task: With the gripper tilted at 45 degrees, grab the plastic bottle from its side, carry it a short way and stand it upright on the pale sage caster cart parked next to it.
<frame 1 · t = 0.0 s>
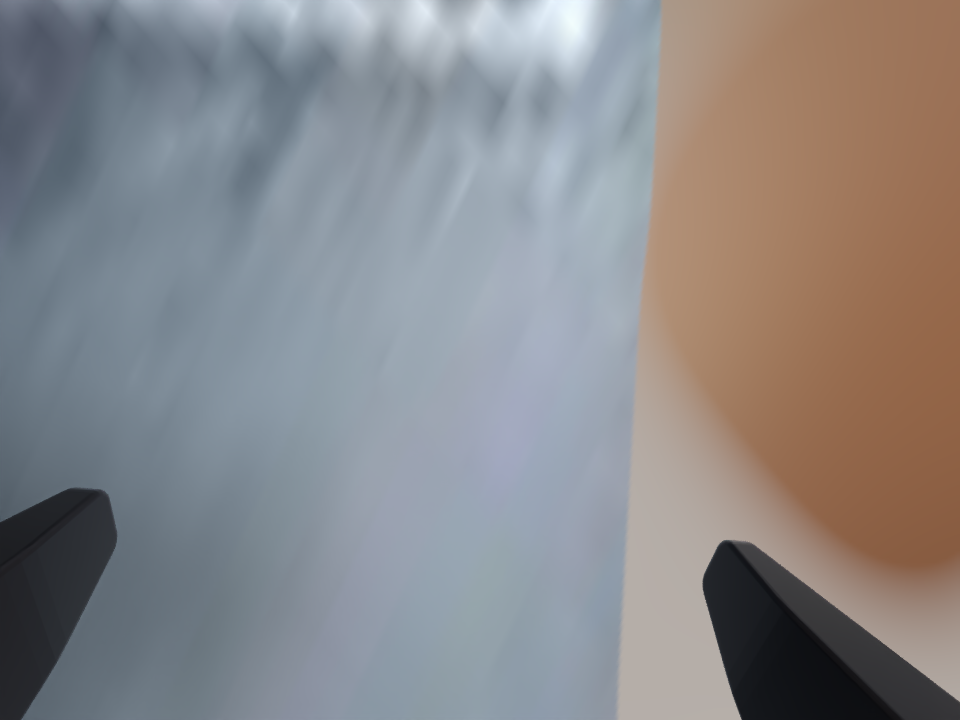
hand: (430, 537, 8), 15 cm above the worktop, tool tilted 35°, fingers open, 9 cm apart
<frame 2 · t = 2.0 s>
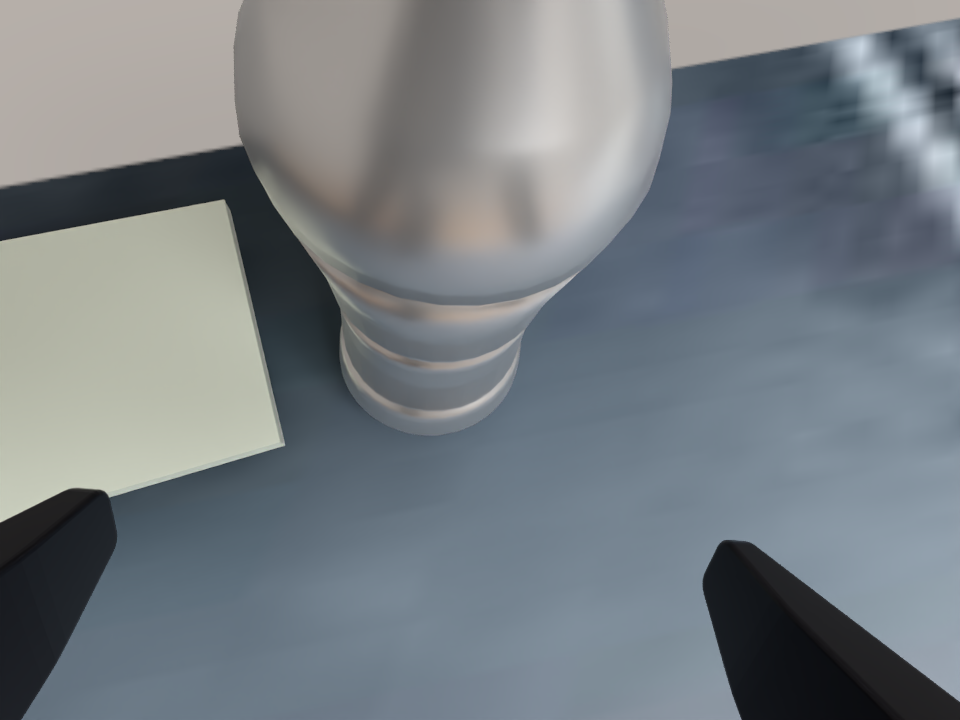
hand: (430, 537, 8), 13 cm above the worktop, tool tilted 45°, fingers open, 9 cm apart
plastic bottle: (427, 371, 22), on the worktop
caster cart: (136, 368, 20), on the worktop
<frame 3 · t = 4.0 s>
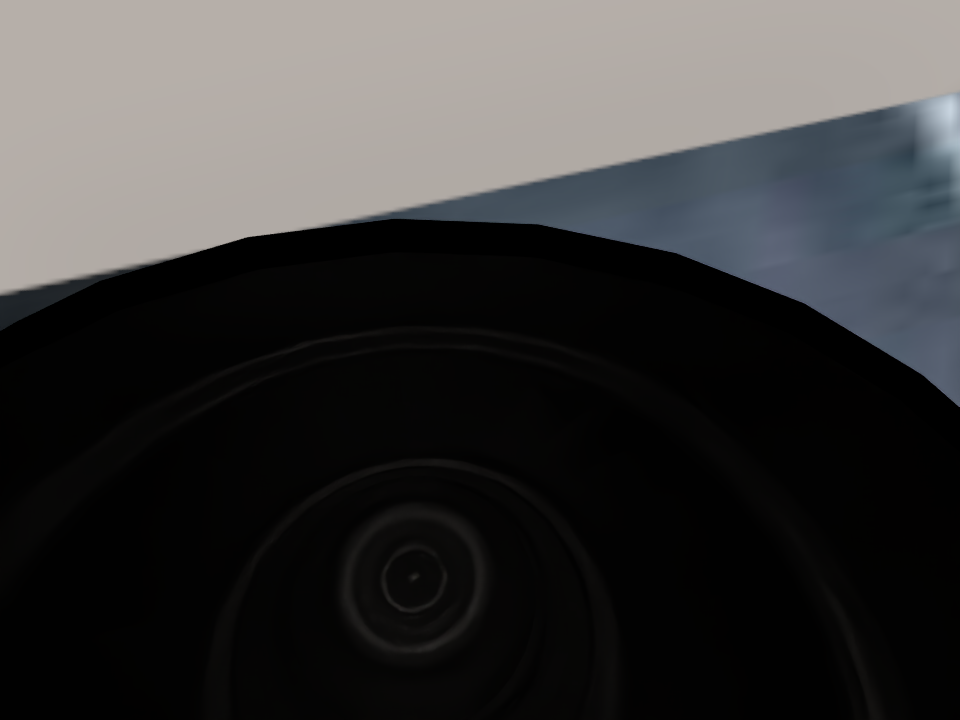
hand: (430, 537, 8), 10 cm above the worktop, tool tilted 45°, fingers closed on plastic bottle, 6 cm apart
plastic bottle: (412, 576, 16), on the worktop, touching gripper
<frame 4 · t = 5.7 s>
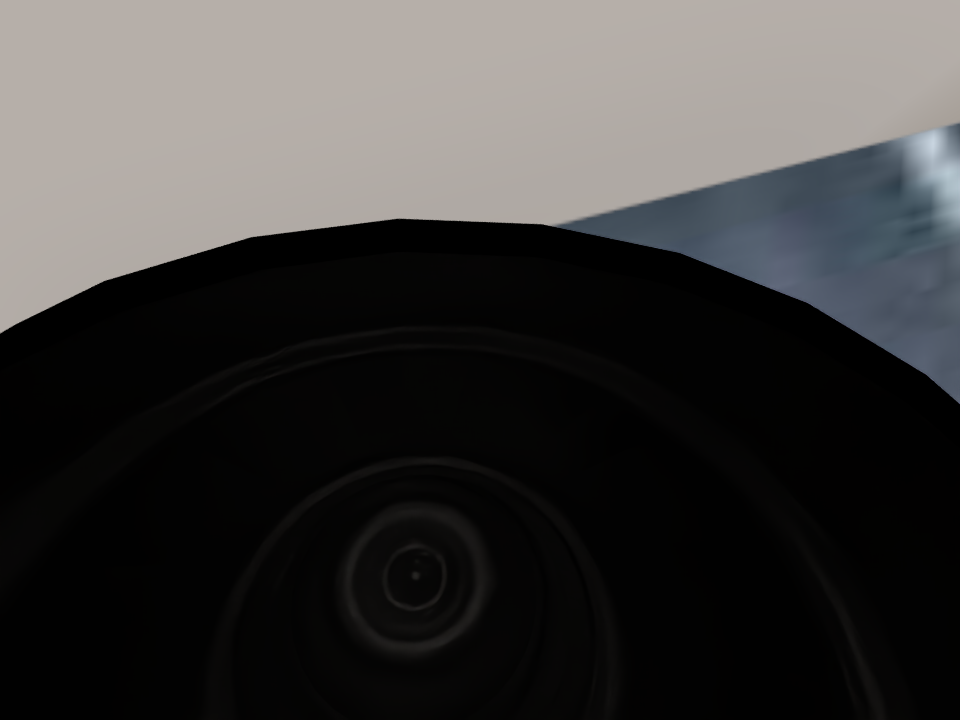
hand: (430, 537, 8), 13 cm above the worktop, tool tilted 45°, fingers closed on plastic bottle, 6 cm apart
plastic bottle: (413, 575, 16), point 3 cm above the worktop, touching gripper
when the fingers open (13 cm above the worktop, at t = 7.7 s): plastic bottle stays where it is, resting on caster cart.
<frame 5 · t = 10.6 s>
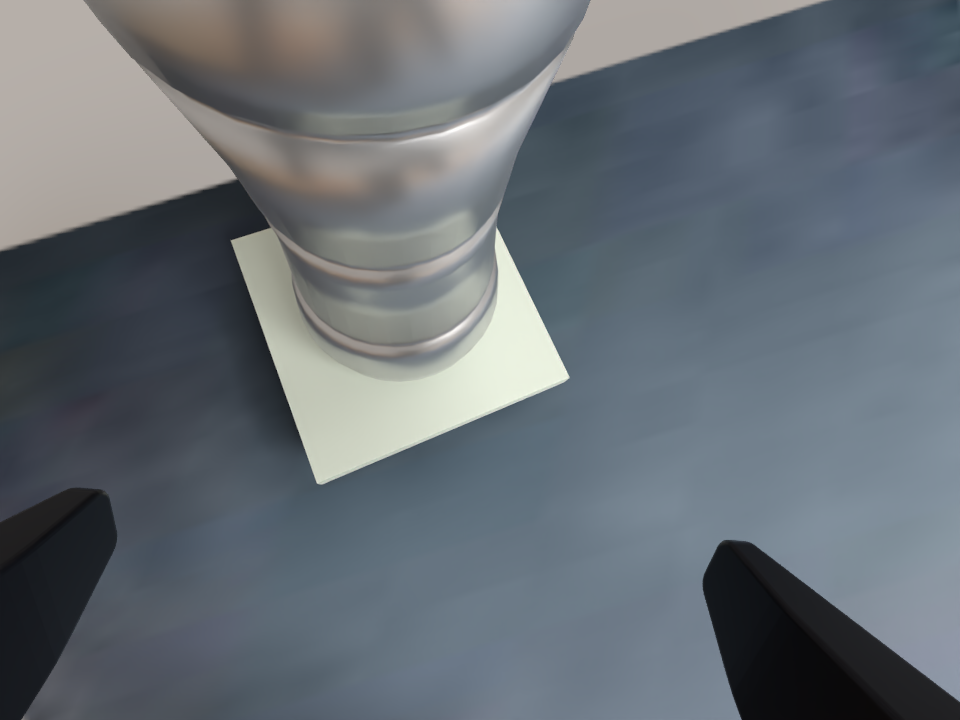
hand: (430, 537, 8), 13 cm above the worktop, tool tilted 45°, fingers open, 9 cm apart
plastic bottle: (402, 315, 20), point 2 cm above the worktop, touching caster cart
caster cart: (402, 329, 22), on the worktop
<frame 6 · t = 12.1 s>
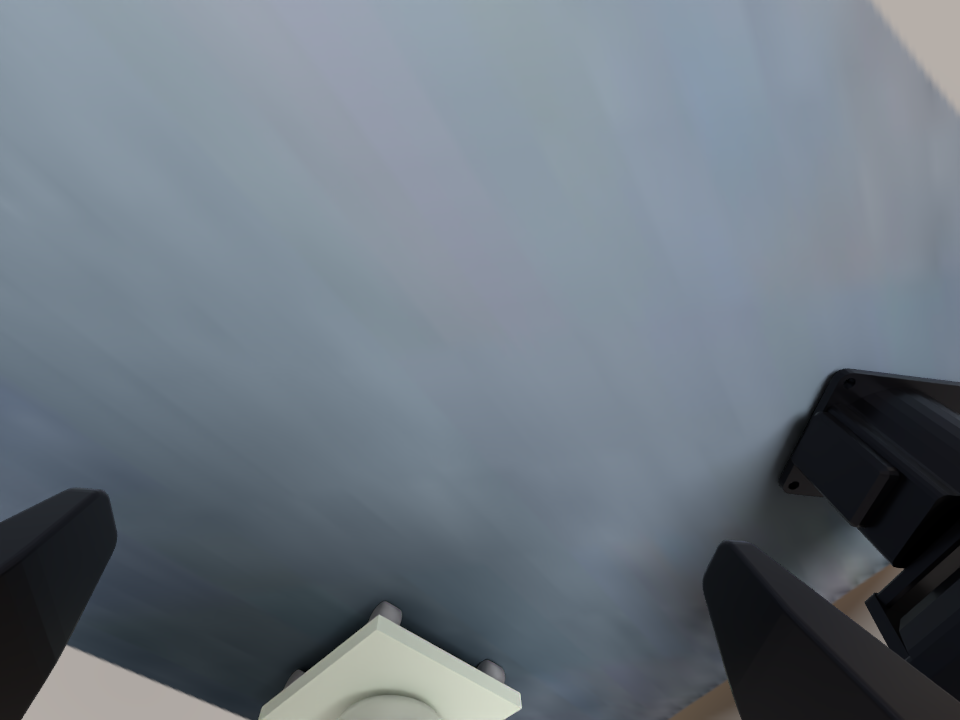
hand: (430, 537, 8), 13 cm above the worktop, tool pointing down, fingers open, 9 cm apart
plastic bottle: (393, 709, 28), point 2 cm above the worktop, touching caster cart
caster cart: (395, 669, 30), on the worktop
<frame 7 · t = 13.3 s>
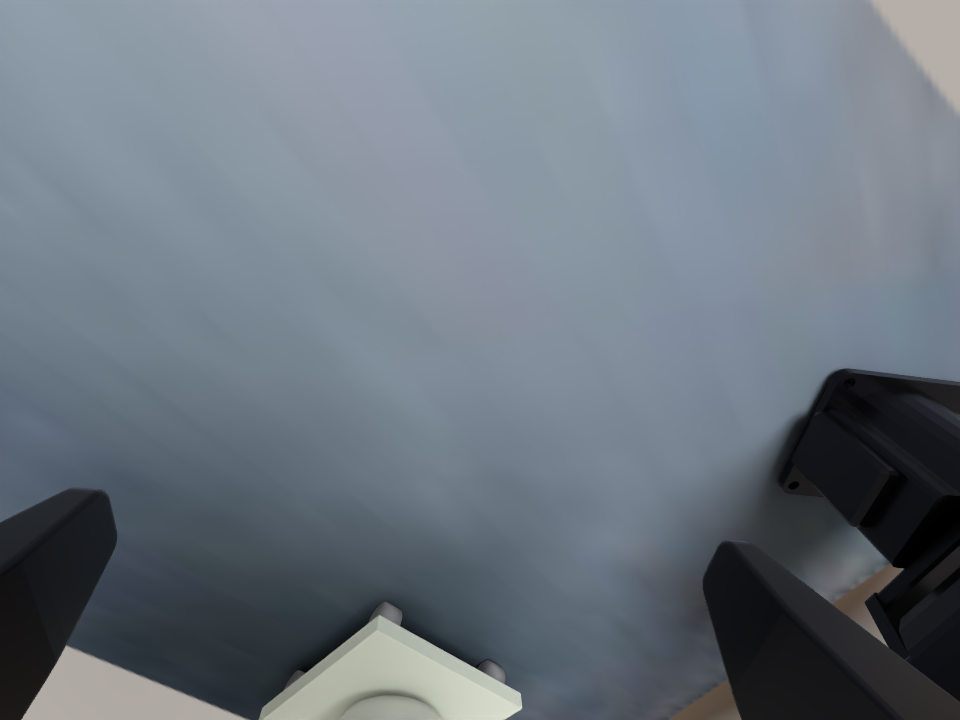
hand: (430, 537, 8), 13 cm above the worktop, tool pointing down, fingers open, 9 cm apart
plastic bottle: (393, 710, 28), point 2 cm above the worktop, touching caster cart
caster cart: (395, 669, 30), on the worktop
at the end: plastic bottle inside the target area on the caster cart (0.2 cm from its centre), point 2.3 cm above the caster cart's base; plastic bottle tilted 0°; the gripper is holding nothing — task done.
